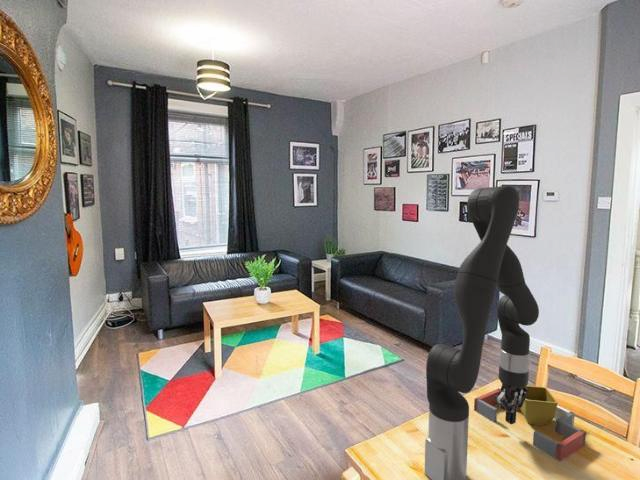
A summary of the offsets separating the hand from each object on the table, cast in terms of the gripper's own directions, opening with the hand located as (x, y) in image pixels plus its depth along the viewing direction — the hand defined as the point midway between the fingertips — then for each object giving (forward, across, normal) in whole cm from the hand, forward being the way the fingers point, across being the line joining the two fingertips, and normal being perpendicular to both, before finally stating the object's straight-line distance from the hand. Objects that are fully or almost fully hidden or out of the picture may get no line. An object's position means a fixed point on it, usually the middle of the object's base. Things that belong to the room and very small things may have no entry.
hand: (510, 422), depth 105 cm
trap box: (+4, +11, 0) cm, 12 cm away
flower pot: (+4, +13, 0) cm, 14 cm away
